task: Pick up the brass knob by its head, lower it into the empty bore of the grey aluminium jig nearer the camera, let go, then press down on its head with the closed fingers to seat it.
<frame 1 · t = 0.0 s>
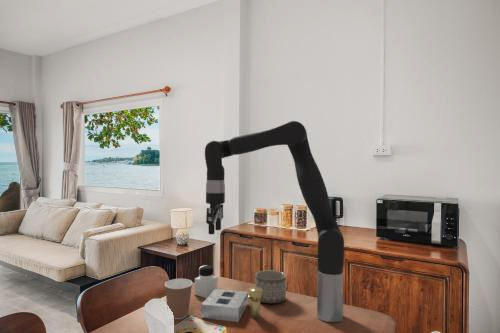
hand: (214, 232, 138), 29 cm above the table, tool pointing down, fingers open, 8 cm apart
jig: (225, 310, 133), on the table
coffee cup: (178, 315, 129), on the table
planter: (270, 300, 145), on the table
brass knob: (255, 316, 129), on the table
medicine bottle: (205, 294, 150), on the table
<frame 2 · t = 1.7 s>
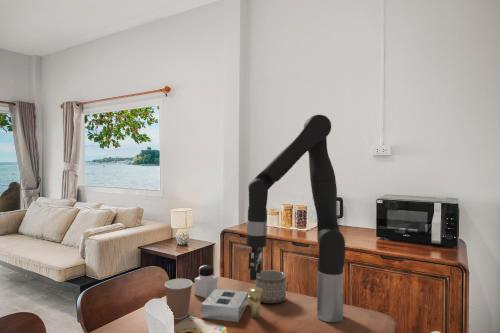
hand: (255, 276, 128), 15 cm above the table, tool pointing down, fingers open, 8 cm apart
nothing on the table moved.
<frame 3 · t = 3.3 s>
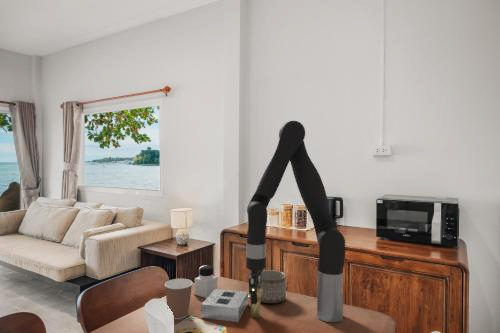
hand: (255, 300, 129), 6 cm above the table, tool pointing down, fingers closed on brass knob, 5 cm apart
brass knob: (255, 316, 129), on the table, touching gripper
everything else where it was.
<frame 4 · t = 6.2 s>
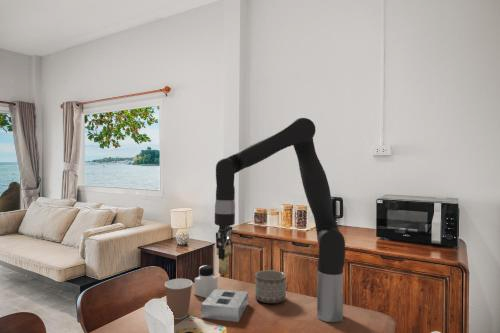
hand: (223, 256, 129), 22 cm above the table, tool pointing down, fingers closed on brass knob, 5 cm apart
brass knob: (223, 272, 129), point 16 cm above the table, touching gripper
everything else where it was.
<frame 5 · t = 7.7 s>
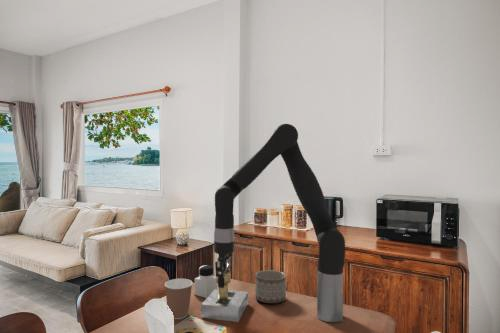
hand: (223, 284, 130), 11 cm above the table, tool pointing down, fingers closed on brass knob, 5 cm apart
brass knob: (223, 300, 130), point 5 cm above the table, touching gripper
everything else where it was.
when the fingers open (7 cm above the table, at t = 8.9 s): brass knob drops 1 cm, resting in jig.
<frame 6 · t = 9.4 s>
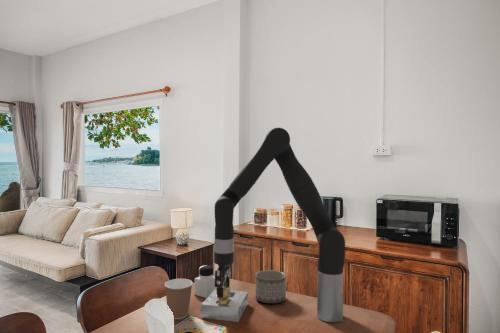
hand: (223, 293, 130), 8 cm above the table, tool pointing down, fingers open, 8 cm apart
brass knob: (222, 314, 129), resting in jig
everything else where it was.
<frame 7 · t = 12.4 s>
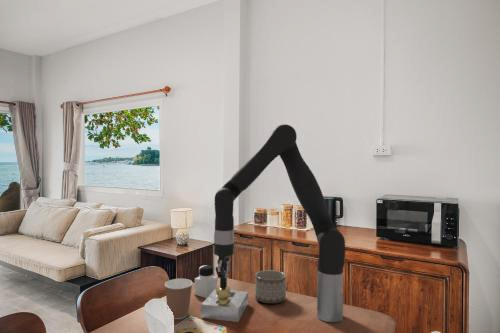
hand: (223, 287, 130), 10 cm above the table, tool pointing down, fingers closed
nothing on the table moved.
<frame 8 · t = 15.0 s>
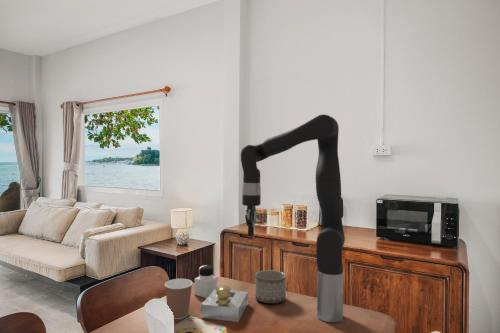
hand: (251, 235, 143), 27 cm above the table, tool pointing down, fingers closed
nothing on the table moved.
at the end: brass knob 0.2 cm from the target spot on the jig, point 0.0 cm above the jig's base; brass knob tilted 0°; the gripper is holding nothing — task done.
